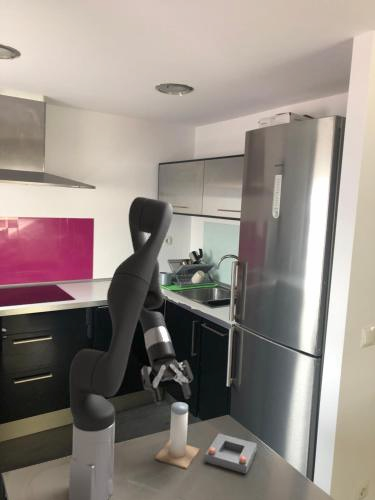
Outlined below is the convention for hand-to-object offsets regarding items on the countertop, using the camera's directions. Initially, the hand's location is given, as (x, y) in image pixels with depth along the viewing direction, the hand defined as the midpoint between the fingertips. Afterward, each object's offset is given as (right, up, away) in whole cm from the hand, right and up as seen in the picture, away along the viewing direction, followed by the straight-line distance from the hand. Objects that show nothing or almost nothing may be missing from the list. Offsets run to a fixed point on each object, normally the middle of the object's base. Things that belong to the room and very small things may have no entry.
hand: (173, 400), depth 110 cm
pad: (+1, -14, -2) cm, 14 cm away
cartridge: (+1, -13, -2) cm, 13 cm away
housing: (+15, -15, -2) cm, 21 cm away
